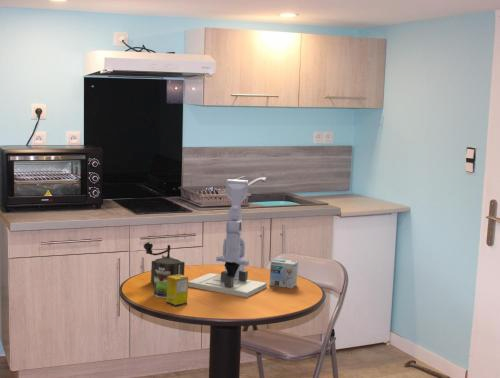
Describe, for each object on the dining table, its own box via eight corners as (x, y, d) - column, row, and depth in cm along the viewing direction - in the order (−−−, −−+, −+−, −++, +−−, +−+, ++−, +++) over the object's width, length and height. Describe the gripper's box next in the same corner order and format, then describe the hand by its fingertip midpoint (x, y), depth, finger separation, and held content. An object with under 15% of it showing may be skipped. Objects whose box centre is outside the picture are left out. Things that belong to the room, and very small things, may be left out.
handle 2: (241, 279, 310) (241, 270, 310) (247, 280, 309) (247, 271, 309) (238, 280, 308) (239, 271, 308) (244, 281, 307) (245, 272, 307)
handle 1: (226, 285, 299) (227, 275, 298) (233, 286, 298) (233, 277, 297) (224, 286, 297) (224, 277, 296) (230, 287, 295) (231, 278, 295)
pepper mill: (166, 278, 315) (168, 237, 312) (184, 283, 308) (186, 242, 305) (140, 283, 303) (141, 242, 300) (158, 289, 296) (159, 246, 294)
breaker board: (209, 277, 320) (210, 272, 319) (266, 287, 307) (266, 282, 307) (187, 286, 303) (187, 281, 302) (246, 297, 290) (246, 292, 290)
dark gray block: (223, 280, 307) (223, 271, 306) (229, 281, 306) (230, 272, 305) (220, 281, 305) (221, 272, 304) (226, 282, 304) (227, 273, 303)
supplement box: (178, 300, 281) (179, 273, 279) (187, 304, 276) (188, 277, 275) (165, 303, 277) (166, 275, 275) (175, 307, 272) (176, 279, 271)
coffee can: (172, 300, 281) (173, 264, 280) (148, 296, 285) (149, 261, 283) (183, 293, 291) (184, 259, 289) (160, 290, 294) (161, 256, 293)
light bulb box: (268, 285, 312) (270, 260, 311) (274, 281, 318) (275, 258, 317) (292, 288, 308) (293, 264, 307) (297, 285, 314) (298, 261, 313)
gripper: (213, 247, 302) (211, 279, 303) (244, 252, 295) (242, 284, 297) (221, 245, 308) (219, 275, 310) (251, 249, 302) (249, 281, 303)
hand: (231, 279), depth 304 cm, fingers closed
